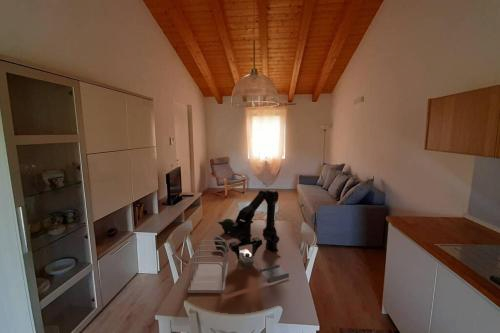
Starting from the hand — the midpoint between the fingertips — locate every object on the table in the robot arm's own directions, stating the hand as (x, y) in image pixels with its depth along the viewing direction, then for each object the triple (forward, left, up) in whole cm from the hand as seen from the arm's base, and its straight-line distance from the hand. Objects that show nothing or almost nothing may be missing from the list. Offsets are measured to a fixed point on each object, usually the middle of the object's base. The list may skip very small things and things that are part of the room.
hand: (245, 257), depth 139 cm
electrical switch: (+7, -22, -5) cm, 24 cm away
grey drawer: (0, 0, -3) cm, 3 cm away
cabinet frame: (-10, +15, -5) cm, 19 cm away
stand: (0, 0, -5) cm, 5 cm away
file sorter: (+22, +3, -5) cm, 23 cm away
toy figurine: (-11, -44, -5) cm, 46 cm away
